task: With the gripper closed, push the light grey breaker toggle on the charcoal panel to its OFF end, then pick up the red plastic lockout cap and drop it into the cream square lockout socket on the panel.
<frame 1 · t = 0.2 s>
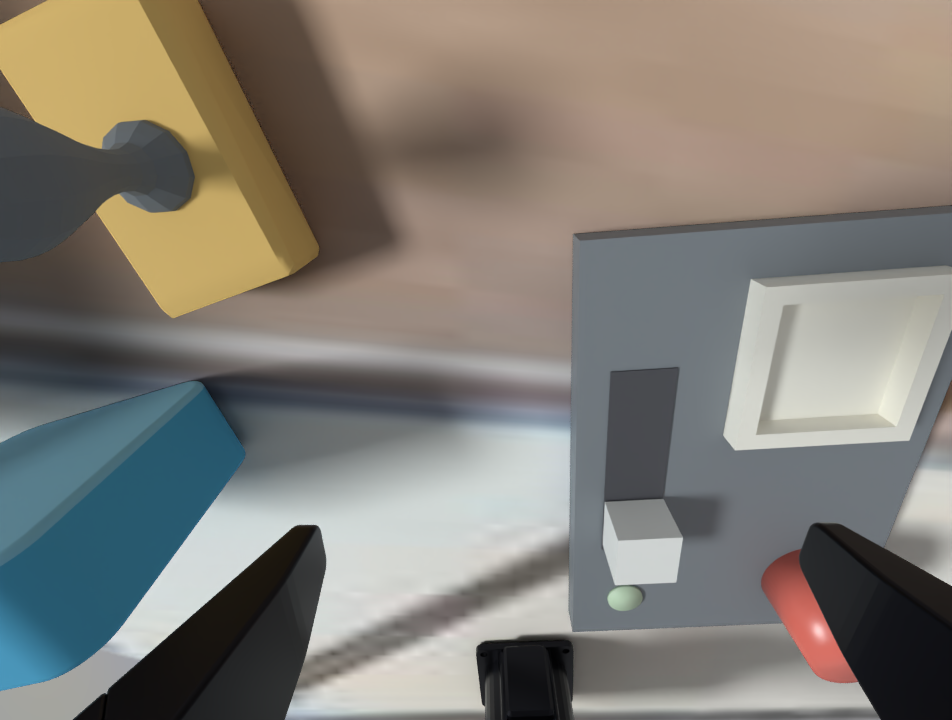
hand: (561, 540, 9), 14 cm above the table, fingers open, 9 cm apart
breaker panel: (730, 450, 25), on the table
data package: (139, 435, 25), on the table
breaker toggle: (639, 541, 24), point 3 cm above the table, slide at 0.0 cm
lockout cap: (801, 576, 27), point 1 cm above the table, touching breaker panel
rubber stamp: (208, 161, 19), on the table
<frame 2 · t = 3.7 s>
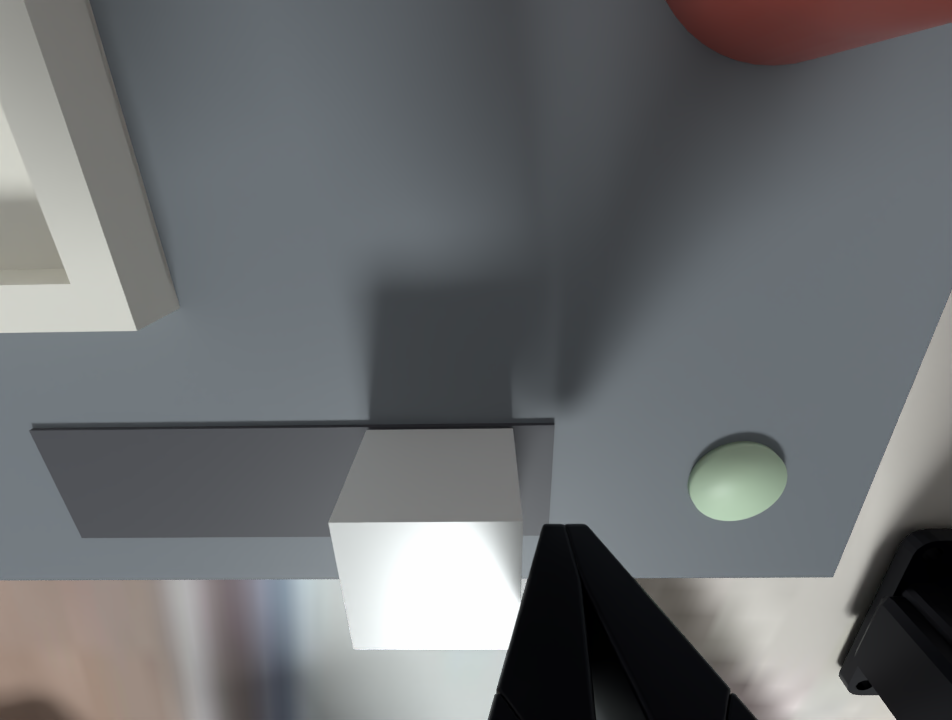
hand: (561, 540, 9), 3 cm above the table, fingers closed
breaker panel: (306, 217, 10), on the table
breaker toggle: (437, 532, 9), point 3 cm above the table, slide at 0.4 cm, touching gripper
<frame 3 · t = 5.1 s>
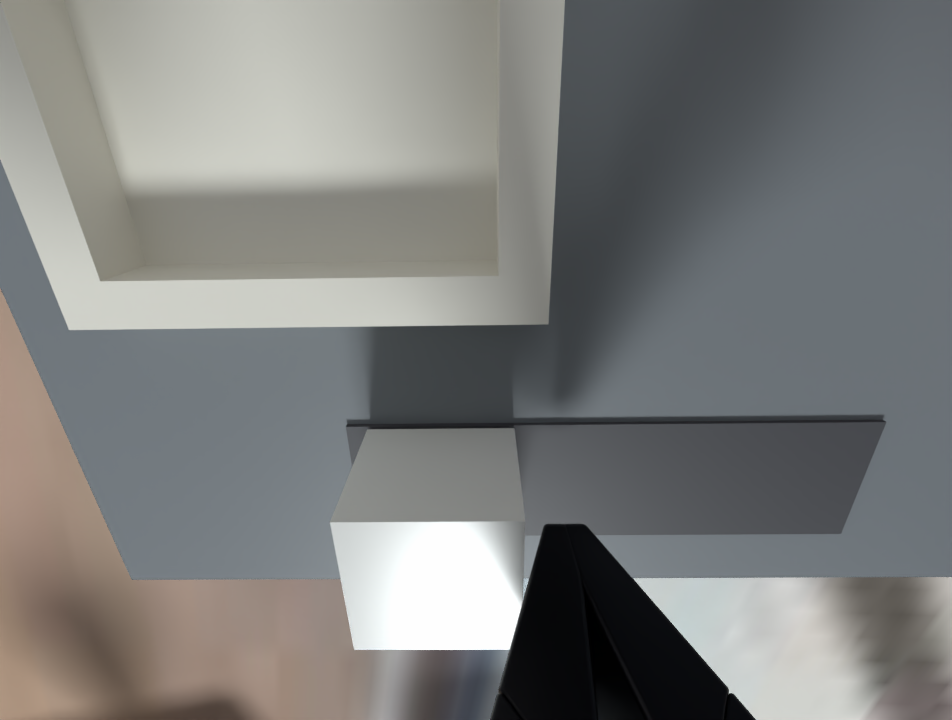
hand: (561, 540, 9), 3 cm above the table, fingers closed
breaker panel: (639, 210, 9), on the table
breaker toggle: (439, 532, 9), point 3 cm above the table, slide at 7.0 cm, touching gripper
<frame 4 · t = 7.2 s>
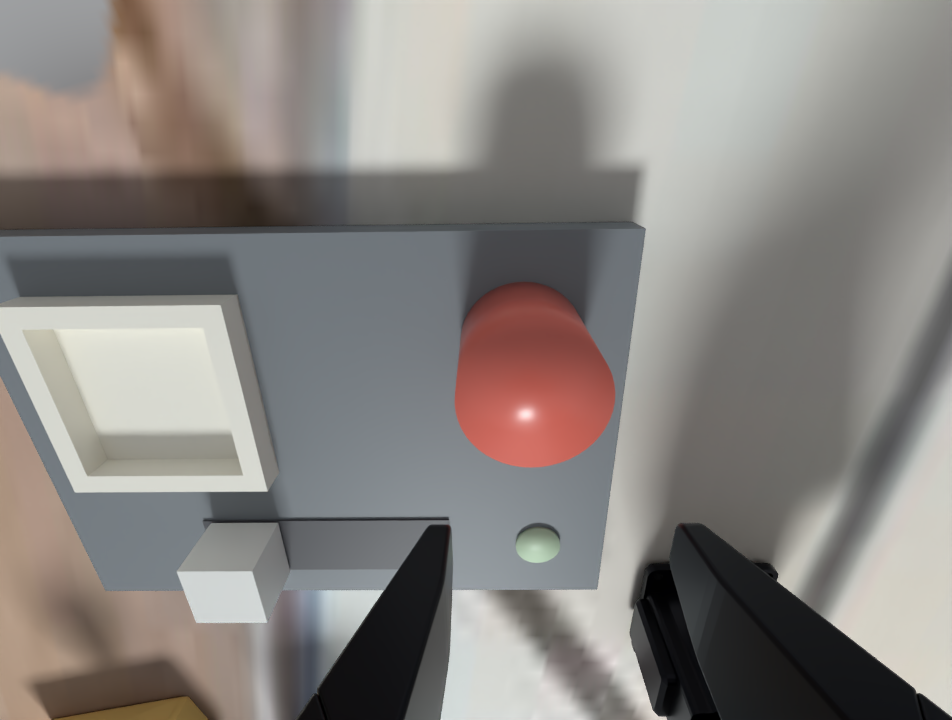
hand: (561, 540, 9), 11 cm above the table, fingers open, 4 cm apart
breaker panel: (333, 424, 21), on the table
breaker toggle: (238, 571, 20), point 3 cm above the table, slide at 7.1 cm
lockout cap: (521, 341, 17), point 1 cm above the table, touching breaker panel
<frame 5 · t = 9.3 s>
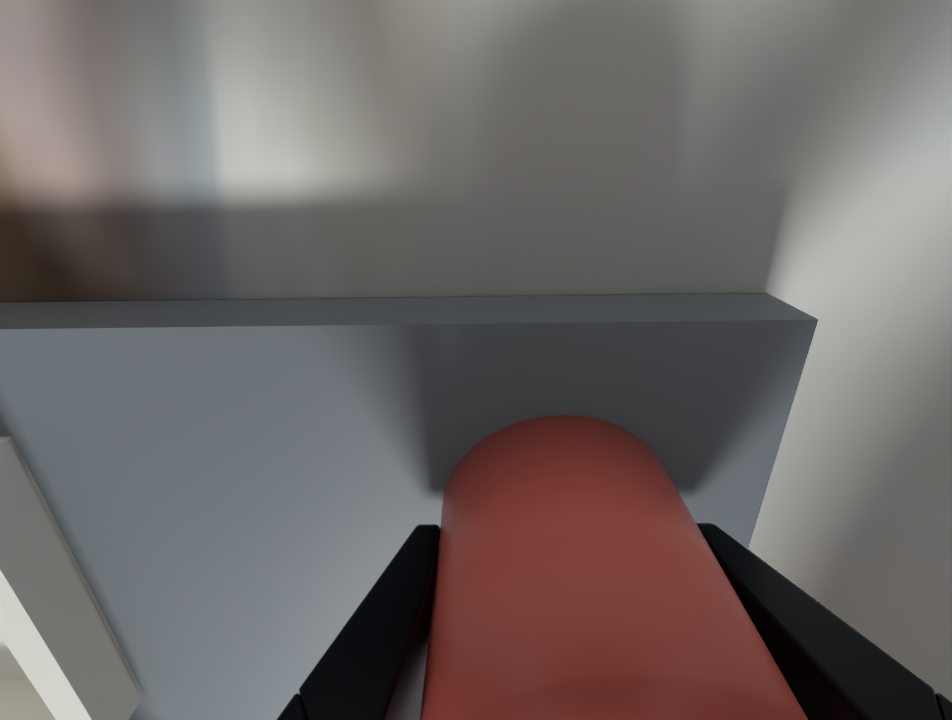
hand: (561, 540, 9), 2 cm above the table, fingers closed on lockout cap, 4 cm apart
breaker panel: (241, 603, 13), on the table
lockout cap: (555, 512, 9), point 1 cm above the table, touching breaker panel, gripper
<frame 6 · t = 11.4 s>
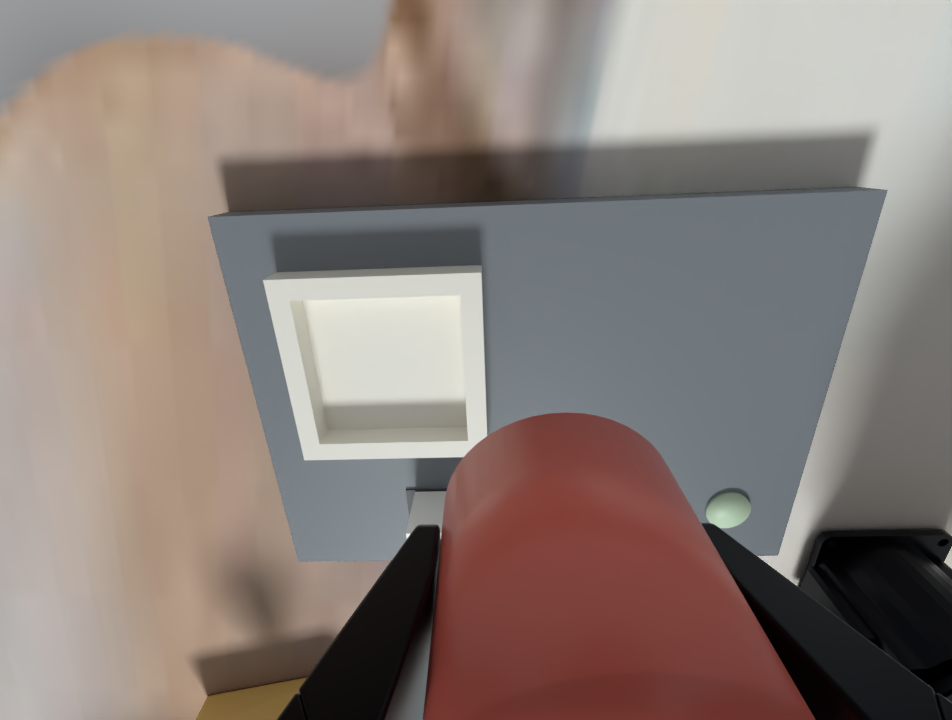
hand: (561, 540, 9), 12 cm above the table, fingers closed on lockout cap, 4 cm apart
breaker panel: (532, 395, 21), on the table
breaker toggle: (447, 536, 21), point 3 cm above the table, slide at 7.1 cm
lockout cap: (558, 510, 9), point 12 cm above the table, touching gripper
rubber stamp: (293, 702, 32), on the table
when the fingers open (4 cm above the table, at t = 13.7 s): lockout cap drops 1 cm, resting on breaker panel.
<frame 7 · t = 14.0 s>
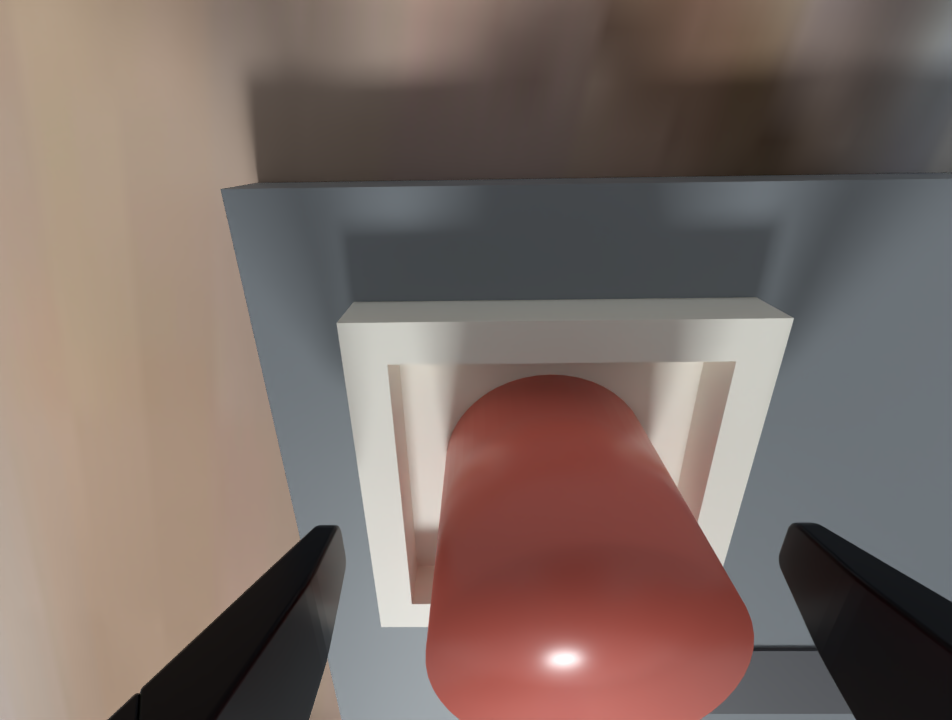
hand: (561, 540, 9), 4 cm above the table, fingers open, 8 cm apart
breaker panel: (748, 501, 13), on the table
lockout cap: (545, 463, 11), point 2 cm above the table, touching breaker panel
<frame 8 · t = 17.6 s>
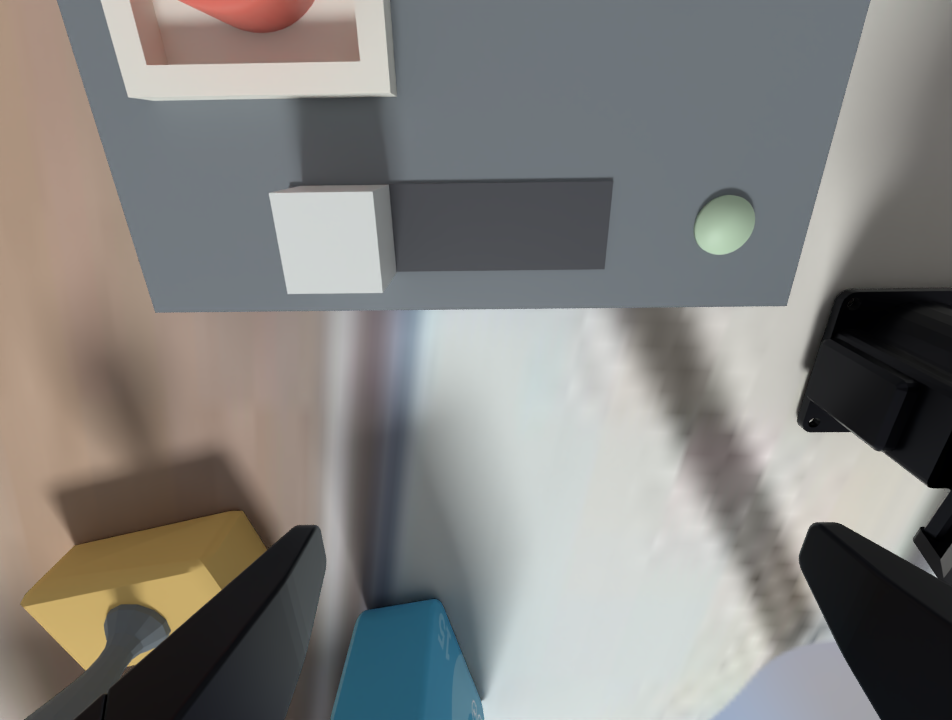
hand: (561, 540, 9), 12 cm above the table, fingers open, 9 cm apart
breaker panel: (463, 51, 16), on the table
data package: (428, 654, 29), on the table
breaker toggle: (340, 237, 15), point 3 cm above the table, slide at 7.1 cm
rubber stamp: (185, 559, 26), on the table
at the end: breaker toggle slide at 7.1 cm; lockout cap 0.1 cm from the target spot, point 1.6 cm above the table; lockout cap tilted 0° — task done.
